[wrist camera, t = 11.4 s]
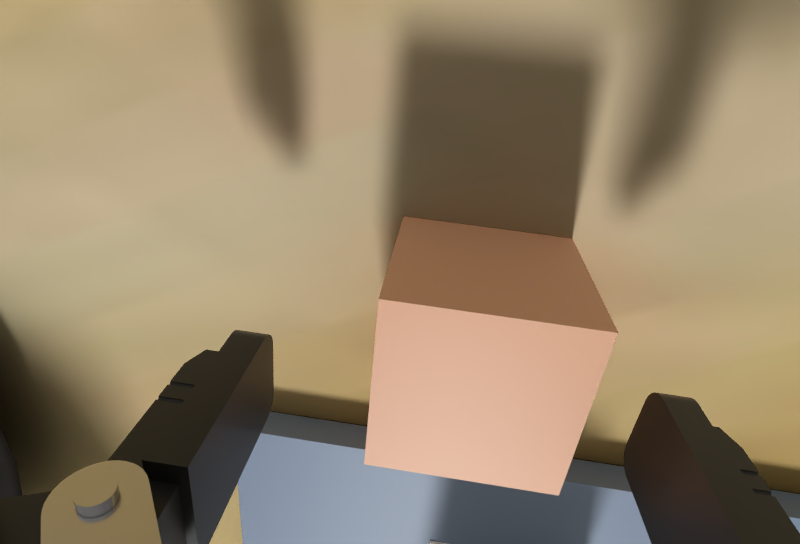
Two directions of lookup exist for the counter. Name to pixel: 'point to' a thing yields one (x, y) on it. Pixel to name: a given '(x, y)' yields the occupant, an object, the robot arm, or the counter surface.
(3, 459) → the casserole
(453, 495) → the blue board
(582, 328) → the terracotta cube
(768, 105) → the counter surface
